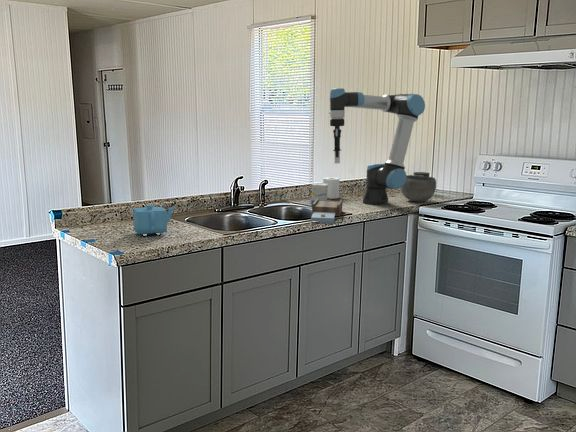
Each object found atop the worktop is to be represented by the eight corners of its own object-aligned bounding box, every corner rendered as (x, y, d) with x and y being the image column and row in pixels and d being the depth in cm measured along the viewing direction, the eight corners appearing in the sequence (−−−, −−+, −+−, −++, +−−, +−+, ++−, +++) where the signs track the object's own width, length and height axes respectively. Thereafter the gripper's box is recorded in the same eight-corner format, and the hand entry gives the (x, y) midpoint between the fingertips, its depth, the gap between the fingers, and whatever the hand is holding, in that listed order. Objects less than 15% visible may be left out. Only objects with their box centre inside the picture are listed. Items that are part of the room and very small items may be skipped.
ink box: (325, 205, 323) (326, 185, 321) (310, 204, 324) (311, 184, 322) (327, 203, 331) (328, 183, 329) (313, 202, 333) (313, 182, 331)
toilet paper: (322, 198, 348) (322, 179, 345) (323, 195, 358) (323, 177, 356) (338, 199, 347) (339, 179, 344) (339, 196, 357) (339, 177, 354)
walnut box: (342, 211, 306) (342, 199, 305) (339, 217, 288) (339, 205, 287) (316, 209, 308) (316, 198, 307) (312, 215, 291) (312, 204, 290)
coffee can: (426, 193, 377) (427, 172, 374) (429, 195, 366) (431, 173, 364) (410, 192, 377) (412, 171, 374) (413, 195, 367) (415, 173, 364)
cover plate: (335, 218, 289) (335, 210, 288) (333, 224, 273) (333, 216, 272) (313, 217, 290) (313, 209, 289) (311, 223, 274) (311, 215, 274)
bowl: (397, 202, 336) (398, 177, 334) (403, 197, 355) (404, 174, 352) (432, 205, 329) (434, 179, 326) (437, 200, 348) (438, 175, 345)
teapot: (138, 239, 235) (137, 208, 232) (133, 231, 249) (132, 202, 246) (181, 236, 242) (181, 206, 239) (173, 228, 256) (173, 200, 253)
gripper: (331, 118, 303) (331, 161, 308) (329, 119, 290) (329, 164, 295) (345, 117, 302) (344, 161, 307) (343, 118, 289) (343, 164, 294)
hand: (337, 163), depth 301 cm, fingers closed
